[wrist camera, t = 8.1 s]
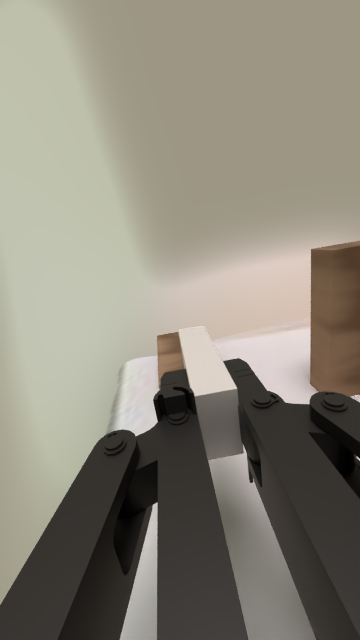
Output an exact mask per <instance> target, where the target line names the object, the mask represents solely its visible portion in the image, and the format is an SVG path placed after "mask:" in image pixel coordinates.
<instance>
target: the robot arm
mask: <svg viewBox="0 0 360 640" xmlns="http://www.w3.org/2000/svg"><path fill="white" fill-rule="evenodd" d="M178 332H179V338H180V344H181V350H182V356H183V362H184V368H185V369H180V370H175V371H169V372H165V373H164V374H163V376H162V377H161V379H160V386H161V387H160V391H158V393H157V394H156V395H155V396H154V399H153V401H154V406H155V410H156V415H157V420H158V423H157V424H156V425H155V426H154V427H153V428H151V429H150V430H148V431H147V432H145V433H143V434H140V435H138V436H136V437H135V434H134V433H132V432H131V431H128V430H117V431H113V432H111V433H109V434H107V435H105V436H104V437H103V438H101V439H100V440H99V441H98V442H97V444H96V445H95V446H94V448H93V450H92V452H91V453H90V455H89V456H88V458H87V460H86V462H85V463H84V465H83V466H82V468H81V470H80V472H79V473H78V475H77V477H76V479H75V480H74V482H73V483H72V485H71V487H70V488H69V490H68V492H67V494H66V495H65V497H64V499H63V500H62V502H61V504H60V505H59V507H58V509H57V511H56V512H55V514H54V516H53V517H52V519H51V521H50V522H49V524H48V526H47V528H46V529H45V531H44V532H43V534H42V536H41V537H40V539H39V541H38V543H37V544H36V546H35V548H34V549H33V551H32V553H31V554H30V556H29V558H28V559H27V561H26V563H25V564H24V566H23V568H22V570H21V571H20V573H19V575H18V576H17V578H16V580H15V581H14V583H13V585H12V586H11V588H10V590H9V591H8V593H7V595H6V597H5V598H4V600H3V602H2V603H1V605H0V640H120V636H121V632H122V628H123V624H124V620H125V616H126V612H127V608H128V604H129V600H130V596H131V592H132V588H133V584H134V580H135V576H136V572H137V568H138V564H139V560H140V556H141V552H142V548H143V544H144V540H145V536H146V532H147V528H148V524H149V520H150V516H151V512H152V505H153V504H155V503H157V502H158V562H157V640H248V636H247V632H246V627H245V623H244V618H243V614H242V610H241V605H240V601H239V596H238V592H237V587H236V583H235V579H234V574H233V570H232V565H231V561H230V556H229V552H228V548H227V543H226V539H225V534H224V530H223V525H222V521H221V517H220V512H219V508H218V503H217V499H216V494H215V490H214V485H213V481H212V477H211V472H210V468H209V463H208V460H210V459H216V458H221V457H226V456H231V455H237V454H242V453H244V452H243V445H244V447H245V450H246V452H247V460H248V471H249V480H250V483H252V482H253V479H254V482H255V484H256V487H257V489H258V492H259V494H260V497H261V499H262V502H263V504H264V507H265V510H266V512H267V515H268V517H269V520H270V522H271V525H272V527H273V530H274V532H275V535H276V538H277V540H278V543H279V545H280V548H281V550H282V553H283V555H284V558H285V560H286V563H287V565H288V568H289V571H290V573H291V576H292V578H293V581H294V583H295V586H296V588H297V591H298V593H299V596H300V599H301V601H302V604H303V606H304V609H305V611H306V614H307V616H308V619H309V621H310V624H311V627H312V629H313V632H314V634H315V637H316V639H317V640H360V461H359V460H358V459H357V458H356V456H357V457H359V458H360V403H359V402H358V401H356V400H354V399H352V398H351V397H348V396H346V395H344V394H341V393H336V392H326V391H324V392H319V393H316V394H314V395H313V396H311V399H310V405H309V404H290V403H285V402H284V401H283V399H282V398H281V397H280V396H278V395H277V394H275V393H273V392H270V391H267V390H266V389H265V387H264V386H263V384H262V383H261V382H260V380H259V379H258V377H257V376H256V375H255V373H254V372H253V371H252V370H251V368H250V366H249V365H248V364H247V362H245V361H243V360H241V359H239V358H238V359H232V360H227V361H222V359H221V357H220V355H219V353H218V351H217V349H216V347H215V346H214V344H213V342H212V340H211V338H210V336H209V334H208V332H207V330H206V329H205V327H204V325H202V326H196V327H191V328H185V329H179V330H178Z"/></svg>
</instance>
